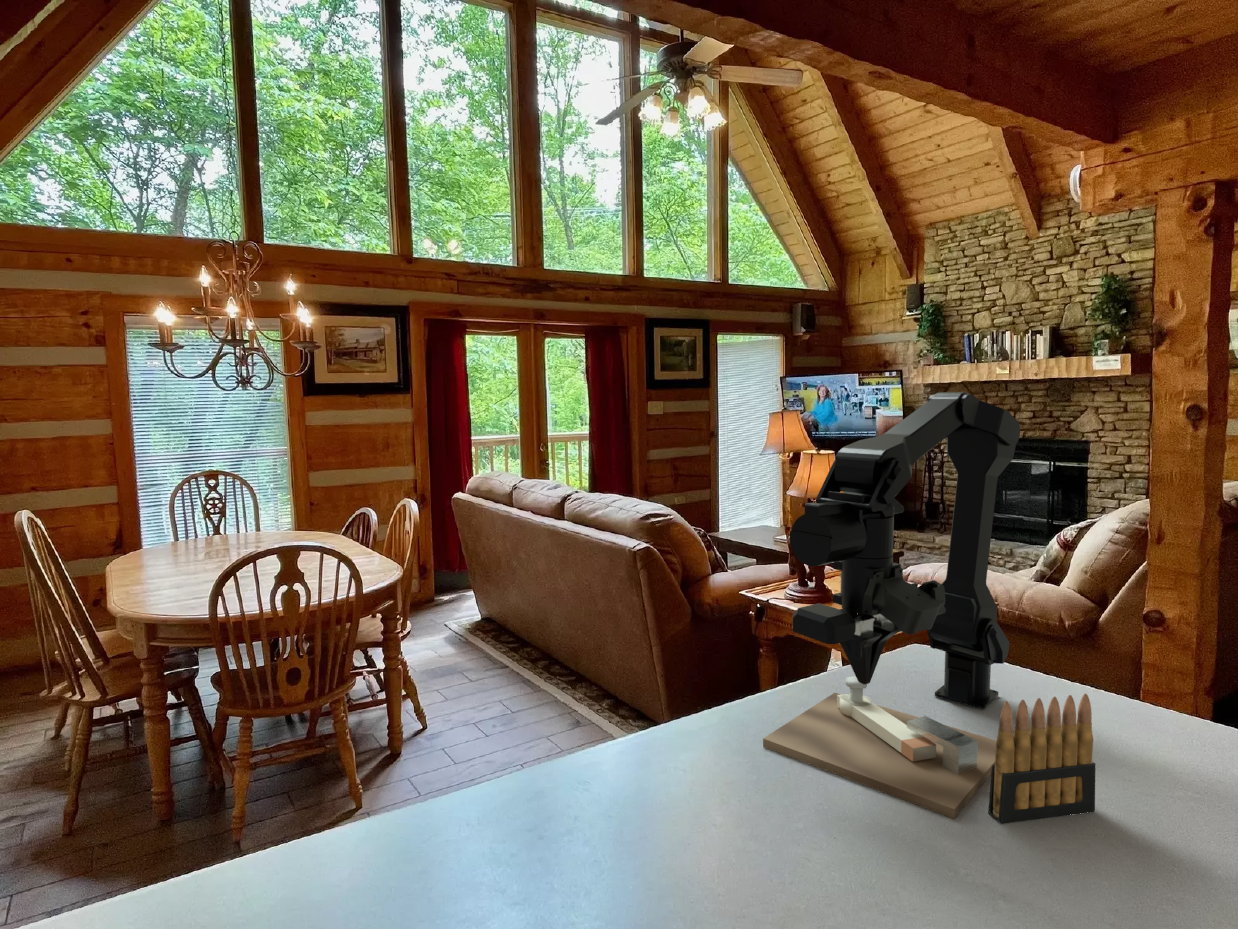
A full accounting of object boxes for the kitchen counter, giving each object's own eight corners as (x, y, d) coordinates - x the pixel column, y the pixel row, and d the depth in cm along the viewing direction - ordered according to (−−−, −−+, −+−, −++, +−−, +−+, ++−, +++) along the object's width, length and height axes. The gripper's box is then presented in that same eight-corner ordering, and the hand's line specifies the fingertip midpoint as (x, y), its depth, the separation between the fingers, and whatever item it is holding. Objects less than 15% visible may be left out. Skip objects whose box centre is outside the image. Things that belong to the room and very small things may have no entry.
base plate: (834, 699, 100) (834, 692, 99) (1009, 752, 84) (1009, 744, 84) (763, 746, 87) (763, 738, 86) (954, 818, 71) (954, 809, 71)
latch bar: (833, 707, 94) (834, 676, 94) (860, 703, 96) (860, 672, 95) (909, 762, 80) (910, 726, 80) (939, 757, 81) (940, 721, 81)
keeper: (924, 741, 85) (925, 715, 85) (977, 768, 79) (978, 741, 79) (906, 746, 84) (906, 721, 84) (958, 774, 78) (959, 747, 77)
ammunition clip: (1080, 802, 74) (1086, 689, 73) (1095, 812, 72) (1101, 696, 71) (987, 813, 72) (991, 698, 71) (1000, 824, 70) (1004, 706, 69)
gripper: (871, 579, 72) (867, 729, 74) (979, 556, 82) (974, 688, 84) (789, 559, 82) (788, 692, 83) (895, 540, 92) (892, 659, 93)
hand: (864, 683), depth 86 cm, fingers closed
